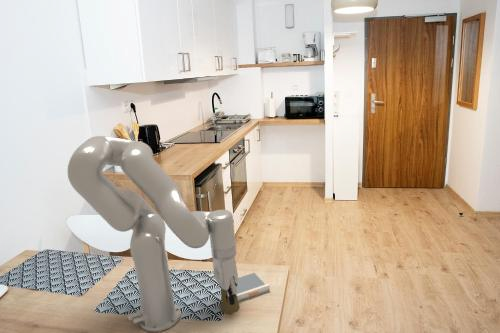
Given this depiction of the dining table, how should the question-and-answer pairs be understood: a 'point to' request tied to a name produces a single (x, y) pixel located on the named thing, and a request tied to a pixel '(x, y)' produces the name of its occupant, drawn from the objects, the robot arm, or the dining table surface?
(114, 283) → the dining table surface
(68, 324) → the dining table surface
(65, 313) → the dining table surface
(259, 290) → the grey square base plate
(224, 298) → the olive brown pepper mill
